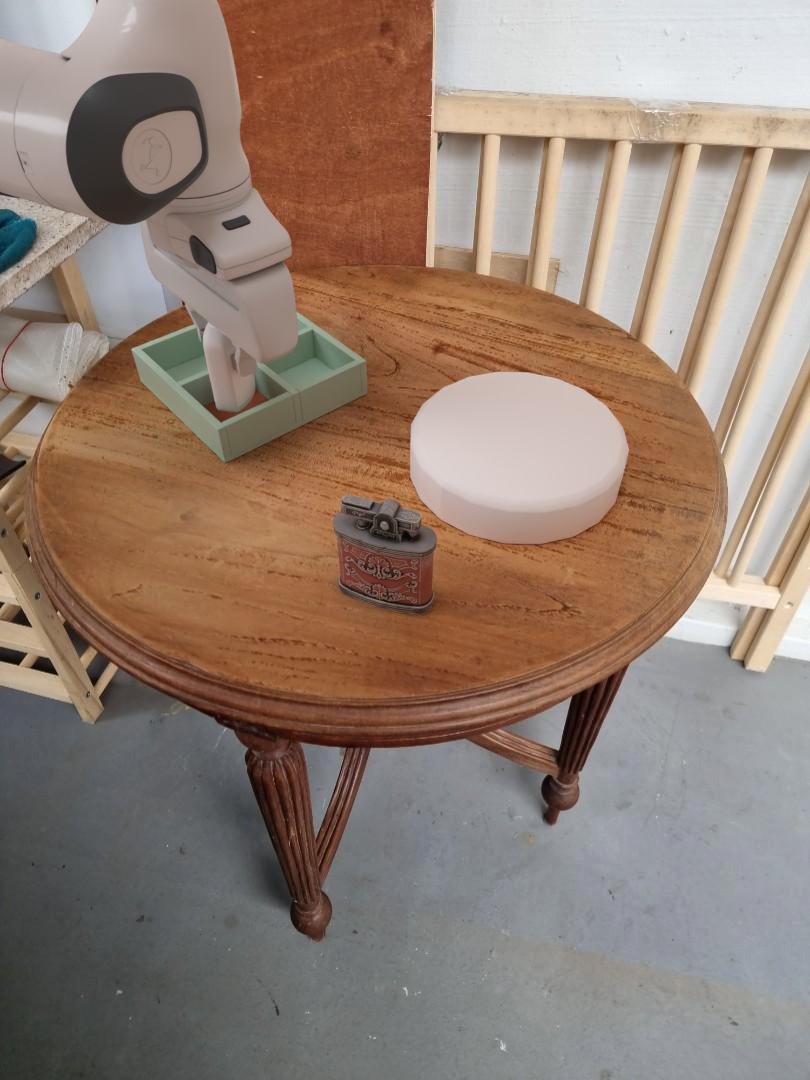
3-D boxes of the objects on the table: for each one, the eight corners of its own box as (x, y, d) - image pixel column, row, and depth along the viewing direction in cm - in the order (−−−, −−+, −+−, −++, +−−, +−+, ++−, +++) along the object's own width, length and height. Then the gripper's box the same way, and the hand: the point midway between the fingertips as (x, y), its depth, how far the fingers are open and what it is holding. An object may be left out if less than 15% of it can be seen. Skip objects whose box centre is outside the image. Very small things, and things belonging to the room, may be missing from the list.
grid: (225, 463, 74) (217, 429, 71) (140, 381, 83) (130, 348, 80) (367, 393, 82) (366, 360, 79) (276, 325, 91) (271, 293, 88)
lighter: (439, 590, 64) (443, 502, 56) (426, 621, 61) (429, 534, 54) (348, 565, 65) (341, 477, 58) (332, 595, 63) (323, 507, 56)
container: (545, 385, 83) (552, 347, 80) (664, 503, 71) (678, 464, 67) (375, 436, 77) (374, 398, 74) (472, 574, 65) (476, 535, 61)
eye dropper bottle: (272, 392, 77) (255, 280, 68) (229, 419, 74) (206, 305, 65) (242, 375, 79) (222, 264, 70) (199, 401, 76) (173, 289, 67)
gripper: (107, 181, 67) (146, 323, 77) (232, 270, 56) (258, 422, 66) (173, 162, 70) (202, 302, 80) (303, 244, 59) (318, 393, 69)
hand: (228, 357), depth 73 cm, fingers closed on eye dropper bottle, 4 cm apart
